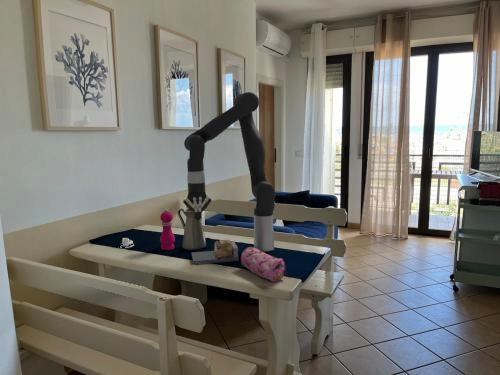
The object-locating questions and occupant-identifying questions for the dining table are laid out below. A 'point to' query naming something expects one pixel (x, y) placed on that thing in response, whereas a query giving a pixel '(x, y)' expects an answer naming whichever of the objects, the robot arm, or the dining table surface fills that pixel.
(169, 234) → the pepper mill
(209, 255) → the vise base
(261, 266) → the pencil case
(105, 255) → the dining table surface
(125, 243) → the white looped part
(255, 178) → the robot arm
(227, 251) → the oak block
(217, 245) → the sliding jaw
